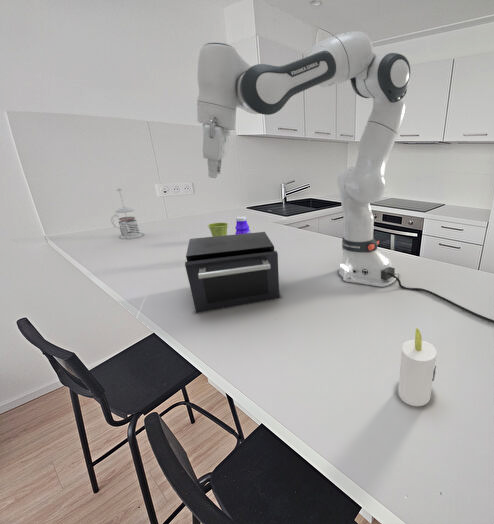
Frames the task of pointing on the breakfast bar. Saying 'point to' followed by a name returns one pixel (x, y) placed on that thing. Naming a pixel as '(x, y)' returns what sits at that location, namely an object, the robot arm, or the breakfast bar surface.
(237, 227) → the bottle
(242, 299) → the oven door
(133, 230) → the french press
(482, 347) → the breakfast bar surface
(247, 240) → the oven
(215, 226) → the plant pot
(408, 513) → the breakfast bar surface
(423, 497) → the breakfast bar surface
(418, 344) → the candle
